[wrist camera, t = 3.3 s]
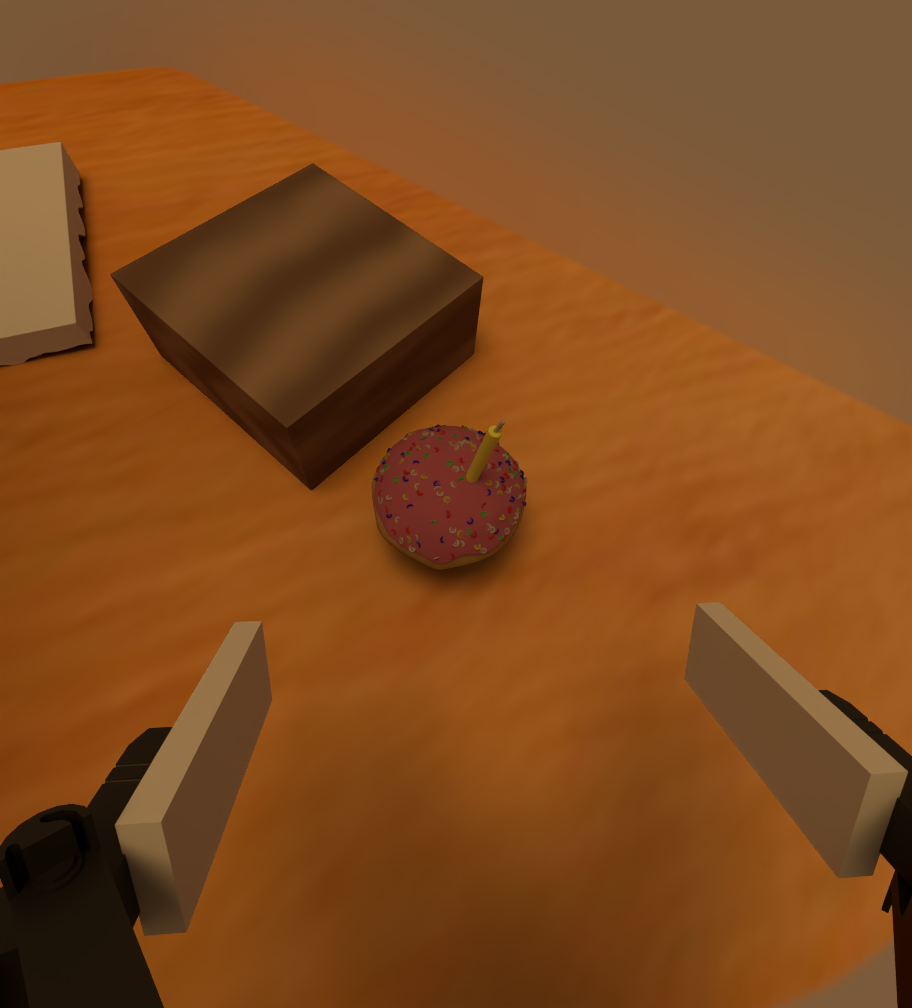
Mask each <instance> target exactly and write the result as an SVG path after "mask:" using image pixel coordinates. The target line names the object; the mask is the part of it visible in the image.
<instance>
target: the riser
mask: <svg viewBox="0 0 912 1008" xmlns="http://www.w3.org/2000/svg"><path fill="white" fill-rule="evenodd" d="M110 275H111V277H112V278H113V280H114V281H115V283H116V285H117V286H118V288H119V289H120V291H121V292H122V294H123V296H124V297H125V299H126V300H127V302H128V304H129V305H130V307H131V308H132V310H133V312H134V313H135V315H136V316H137V318H138V320H139V321H140V323H141V324H142V326H143V327H144V329H145V331H146V332H147V334H148V335H149V337H150V339H151V340H152V342H153V343H154V345H155V347H156V348H157V350H158V351H159V353H160V355H161V356H162V357H164V358H165V359H166V360H167V361H168V362H169V363H170V364H171V365H172V366H174V367H175V368H176V369H177V370H178V371H179V372H180V373H181V374H182V375H184V376H185V377H186V378H187V379H188V380H189V381H190V382H191V383H192V384H194V385H195V386H196V387H197V388H198V389H199V390H200V391H201V392H202V393H204V394H205V395H206V396H207V397H208V398H209V399H210V400H211V401H212V402H214V403H215V404H216V405H217V406H218V407H219V408H220V409H221V410H222V411H224V412H225V413H226V414H227V415H228V416H229V417H230V418H231V419H232V420H234V421H235V422H236V423H237V424H238V425H239V426H240V427H241V428H242V429H244V430H245V431H246V432H247V433H248V434H249V435H250V436H251V437H252V438H254V439H255V440H256V441H257V442H258V443H259V444H260V445H261V446H262V447H264V448H265V449H266V450H267V451H268V452H269V453H270V454H271V455H272V456H274V457H275V458H276V459H277V460H278V461H279V462H280V463H281V464H282V465H284V466H285V467H286V468H287V469H288V470H289V471H290V472H291V473H292V474H294V475H295V476H296V477H297V478H298V479H299V480H300V481H301V482H302V483H304V484H305V485H306V486H307V487H308V488H309V489H310V490H312V489H314V488H315V487H316V486H317V485H318V484H319V483H321V482H322V481H323V480H324V479H325V478H327V477H328V476H329V475H330V474H331V473H333V472H334V471H335V470H336V469H337V468H338V467H340V466H341V465H342V464H343V463H344V462H346V461H347V460H348V459H349V458H350V457H352V456H353V455H354V454H355V453H356V452H358V451H359V450H360V449H361V448H362V447H363V446H365V445H366V444H367V443H368V442H369V441H371V440H372V439H373V438H374V437H375V436H377V435H378V434H379V433H380V432H381V431H382V430H384V429H385V428H386V427H387V426H388V425H390V424H391V423H392V422H393V421H394V420H396V419H397V418H398V417H399V416H400V415H401V414H403V413H404V412H405V411H406V410H407V409H409V408H410V407H411V406H412V405H413V404H415V403H416V402H417V401H418V400H419V399H421V398H422V397H423V396H424V395H425V394H426V393H428V392H429V391H430V390H431V389H432V388H434V387H435V386H436V385H437V384H438V383H440V382H441V381H442V380H443V379H444V378H445V377H447V376H448V375H449V374H450V373H451V372H453V371H454V370H455V369H456V368H457V367H459V366H460V365H461V364H462V363H463V362H465V361H466V360H467V359H468V358H469V357H470V356H472V355H473V354H474V347H475V340H476V332H477V324H478V316H479V308H480V300H481V292H482V284H483V276H481V275H480V274H478V273H477V272H475V271H474V270H472V269H471V268H469V267H468V266H466V265H465V264H463V263H462V262H460V261H459V260H457V259H456V258H454V257H453V256H451V255H450V254H448V253H447V252H445V251H444V250H442V249H441V248H439V247H438V246H436V245H435V244H433V243H432V242H430V241H429V240H427V239H426V238H424V237H423V236H421V235H420V234H418V233H417V232H415V231H414V230H412V229H411V228H409V227H408V226H406V225H405V224H403V223H402V222H400V221H399V220H397V219H396V218H394V217H393V216H391V215H390V214H388V213H387V212H385V211H384V210H382V209H381V208H379V207H378V206H376V205H375V204H373V203H372V202H370V201H369V200H367V199H366V198H364V197H363V196H361V195H360V194H358V193H357V192H355V191H354V190H352V189H351V188H349V187H348V186H346V185H345V184H343V183H342V182H340V181H339V180H337V179H336V178H334V177H333V176H331V175H330V174H328V173H327V172H325V171H324V170H322V169H321V168H319V167H318V166H316V165H315V164H313V163H312V164H311V165H309V166H307V167H305V168H303V169H302V170H300V171H298V172H296V173H294V174H292V175H291V176H289V177H287V178H285V179H283V180H281V181H280V182H278V183H276V184H274V185H272V186H270V187H269V188H267V189H265V190H263V191H261V192H259V193H258V194H256V195H254V196H252V197H250V198H249V199H247V200H245V201H243V202H241V203H239V204H238V205H236V206H234V207H232V208H230V209H228V210H227V211H225V212H223V213H221V214H219V215H217V216H216V217H214V218H212V219H210V220H208V221H207V222H205V223H203V224H201V225H199V226H197V227H196V228H194V229H192V230H190V231H188V232H186V233H185V234H183V235H181V236H179V237H177V238H175V239H174V240H172V241H170V242H168V243H166V244H164V245H163V246H161V247H159V248H157V249H155V250H154V251H152V252H150V253H148V254H146V255H144V256H143V257H141V258H139V259H137V260H135V261H133V262H132V263H130V264H128V265H126V266H124V267H122V268H121V269H119V270H117V271H115V272H113V273H112V274H110Z"/></svg>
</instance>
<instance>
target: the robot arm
mask: <svg viewBox="0 0 912 1008" xmlns="http://www.w3.org/2000/svg"><path fill="white" fill-rule="evenodd" d="M684 679H685V680H686V682H687V683H688V684H689V685H690V687H691V688H692V689H693V691H694V692H695V693H696V695H697V696H698V697H699V698H700V700H701V701H702V702H703V704H704V705H705V706H706V708H707V709H708V710H709V711H710V713H711V714H712V715H713V717H714V718H715V719H716V720H717V722H718V723H719V724H720V726H721V727H722V728H723V730H724V731H725V732H726V733H727V735H728V736H729V737H730V739H731V740H732V741H733V743H734V744H735V745H736V746H737V748H738V749H739V750H740V752H741V753H742V754H743V755H744V757H745V758H746V759H747V761H748V762H749V763H750V765H751V766H752V767H753V768H754V770H755V771H756V772H757V774H758V775H759V776H760V778H761V779H762V780H763V781H764V783H765V784H766V785H767V787H768V788H769V789H770V790H771V792H772V793H773V794H774V796H775V797H776V798H777V800H778V801H779V802H780V803H781V805H782V806H783V807H784V809H785V810H786V811H787V813H788V814H789V815H790V816H791V818H792V819H793V820H794V822H795V823H796V824H797V825H798V827H799V828H800V829H801V831H802V832H803V833H804V835H805V836H806V837H807V838H808V840H809V841H810V842H811V844H812V845H813V846H814V848H815V849H816V850H817V851H818V853H819V854H820V855H821V857H822V858H823V859H824V860H825V862H826V863H827V864H828V866H829V867H830V868H831V870H832V871H833V872H834V873H835V875H836V876H837V877H838V878H846V877H858V876H870V875H873V873H874V870H875V867H876V864H877V861H878V858H879V855H880V853H881V854H882V855H883V856H884V858H885V859H886V860H887V861H888V862H889V863H890V864H891V865H892V867H893V868H894V869H895V872H894V875H893V878H892V880H891V883H890V886H889V889H888V891H887V894H886V897H885V900H884V903H883V906H882V909H881V910H883V911H885V912H887V913H888V912H889V909H890V907H891V905H892V912H893V931H894V949H895V967H896V986H897V1004H898V1008H912V756H911V755H910V754H909V753H907V752H906V751H905V750H904V749H903V748H902V747H900V746H899V745H898V744H897V743H896V742H895V741H894V740H892V739H891V738H890V737H889V736H888V735H887V734H883V732H882V730H881V729H880V728H878V727H877V726H876V725H875V724H874V723H873V722H871V721H870V722H869V721H868V718H867V717H866V716H865V715H863V714H862V713H861V712H860V711H859V710H858V709H856V708H855V707H854V706H853V705H852V704H851V703H849V702H847V701H846V700H844V699H842V698H840V697H838V696H837V695H835V694H833V693H831V692H830V691H828V690H817V689H816V688H815V687H814V686H812V685H811V684H810V683H809V682H808V681H807V680H806V679H805V678H804V677H802V676H801V675H800V674H799V673H798V672H797V671H796V670H795V669H794V668H792V667H791V666H790V665H789V664H788V663H787V662H786V661H785V660H784V659H782V658H781V657H780V656H779V655H778V654H777V653H776V652H775V651H774V650H772V649H771V648H770V647H769V646H768V645H767V644H766V643H765V642H764V641H762V640H761V639H760V638H759V637H758V636H757V635H756V634H755V633H754V632H752V631H751V630H750V629H749V628H748V627H747V626H746V625H745V624H743V623H742V622H741V621H740V620H739V619H738V618H737V617H736V616H735V615H733V614H732V613H731V612H730V611H729V610H728V609H727V608H726V607H725V606H723V605H722V604H721V603H696V609H695V615H694V621H693V627H692V634H691V640H690V646H689V652H688V658H687V664H686V670H685V677H684ZM271 702H272V694H271V687H270V679H269V671H268V664H267V656H266V648H265V641H264V633H263V626H262V621H249V622H235V623H234V624H233V626H232V628H231V629H230V631H229V633H228V634H227V636H226V638H225V640H224V641H223V643H222V645H221V646H220V648H219V650H218V651H217V653H216V655H215V656H214V658H213V660H212V662H211V663H210V665H209V667H208V668H207V670H206V672H205V673H204V675H203V677H202V678H201V680H200V682H199V683H198V685H197V687H196V689H195V690H194V692H193V694H192V695H191V697H190V699H189V700H188V702H187V704H186V705H185V707H184V709H183V711H182V712H181V714H180V716H179V717H178V719H177V721H176V722H175V724H174V726H173V727H162V728H149V729H147V730H146V731H145V732H144V733H143V734H141V735H140V736H139V737H138V738H137V739H135V740H134V741H133V742H132V743H131V744H129V745H128V747H127V748H126V750H125V751H124V753H123V754H122V756H121V757H120V759H119V760H118V762H117V763H116V767H115V768H113V769H112V771H111V772H110V774H109V775H108V777H107V778H106V780H105V784H102V786H101V787H100V789H99V790H98V792H97V793H96V795H95V796H94V798H93V799H92V801H91V802H90V804H89V805H88V807H87V808H86V807H85V806H81V805H76V804H68V805H61V806H56V807H53V808H50V809H48V810H45V811H43V812H40V813H38V814H36V815H34V816H33V817H31V818H30V819H28V820H26V821H25V822H23V823H21V824H20V825H19V826H18V827H17V828H16V829H15V830H14V831H12V832H11V833H10V834H9V835H8V836H7V837H6V838H5V840H4V841H3V843H2V844H1V846H0V879H1V882H2V884H3V887H1V888H0V1008H164V1007H163V1004H162V1001H161V999H160V996H159V994H158V991H157V989H156V986H155V984H154V981H153V979H152V976H151V973H150V971H149V968H148V966H147V963H146V961H145V958H144V956H143V953H142V951H141V948H140V945H139V943H138V940H137V938H136V935H135V933H134V930H133V926H134V924H135V922H136V920H137V918H138V916H139V917H140V921H141V925H142V928H143V932H144V936H145V935H157V934H169V933H181V932H187V929H188V927H189V924H190V921H191V918H192V916H193V913H194V910H195V908H196V905H197V902H198V899H199V897H200V894H201V891H202V889H203V886H204V883H205V880H206V878H207V875H208V872H209V870H210V867H211V864H212V862H213V859H214V856H215V853H216V851H217V848H218V845H219V843H220V840H221V837H222V834H223V832H224V829H225V826H226V824H227V821H228V818H229V815H230V813H231V810H232V807H233V805H234V802H235V799H236V797H237V794H238V791H239V788H240V786H241V783H242V780H243V778H244V775H245V772H246V769H247V767H248V764H249V761H250V759H251V756H252V753H253V750H254V748H255V745H256V742H257V740H258V737H259V734H260V732H261V729H262V726H263V723H264V721H265V718H266V715H267V713H268V710H269V707H270V704H271Z"/></svg>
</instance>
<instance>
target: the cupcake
mask: <svg viewBox="0 0 912 1008" xmlns="http://www.w3.org/2000/svg"><path fill="white" fill-rule="evenodd" d="M505 423H506V421H505V420H502V421H500V422H499V424H498V426H496V425H492V426H490V427H489V429H488V431H487V433H484V434H483V432H481V431H478V432H476V431H475V430H474V429H473V428H472V429H468V428H466V426H464V425H462V427H456V426H446V425H443V426H440V425H437V426H435V427H429V428H426V429H421V430H417V431H414V432H411V433H409V434H408V433H407V435H406V436H405V437H404V438H403V439H402V440H400V441H399V442H398V443H397V444H395V445H394V446H393V447H392V448H391V449H390V448H389V449H388V450H387V454H386V455H385V456H384V458H383V460H381V461H380V466H378V468H377V470H376V473H375V475H374V479H373V483H372V498H373V505H374V511H375V516H376V523H377V527H378V529H379V531H380V533H381V534H382V536H383V537H384V538H385V540H386V541H387V542H388V543H389V544H391V545H392V546H393V547H394V548H396V549H397V550H399V551H400V552H402V553H403V554H405V555H407V556H409V557H410V558H412V559H414V560H416V561H418V562H420V563H422V564H424V565H426V566H429V567H431V568H433V569H437V570H445V569H449V568H454V567H459V566H464V565H468V564H472V563H475V562H478V561H481V560H483V559H486V558H488V557H490V556H492V555H493V554H495V553H497V552H498V551H499V550H501V549H502V548H503V547H504V546H505V545H506V544H507V543H508V542H509V540H510V539H511V537H512V536H513V534H514V533H515V531H516V529H517V527H518V525H519V523H520V520H521V517H522V514H523V510H524V506H526V502H525V498H526V483H527V478H526V477H525V478H524V477H523V475H524V472H523V471H522V470H520V468H519V463H518V461H515V460H514V459H513V458H512V457H511V456H510V455H509V453H508V452H506V451H505V450H504V449H503V448H502V447H500V446H499V444H500V443H499V442H498V441H499V439H500V437H501V435H502V430H501V428H502V426H503V425H504V424H505ZM480 432H481V433H480ZM485 434H486V435H485ZM517 464H518V465H517ZM525 481H526V482H525Z"/></svg>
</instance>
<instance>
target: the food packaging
mask: <svg viewBox="0 0 912 1008" xmlns="http://www.w3.org/2000/svg"><path fill="white" fill-rule="evenodd" d="M78 185H80V175H79V171H78V170H77V168H76V166H75V165H74V163H73V161H72V160H71V158H70V156H69V155H68V153H67V151H66V150H65V148H64V146H63V145H62V143H61V142H56V143H49V144H42V145H35V146H28V147H21V148H14V149H7V150H0V365H16V364H21V363H25V361H26V360H27V359H29V358H31V357H39V356H41V355H42V354H43V353H47V352H57V351H61V350H65V349H69V348H72V347H75V346H78V345H82V344H93V343H92V339H91V336H90V332H91V331H93V323H92V317H91V314H90V311H89V303H90V302H91V301H92V300H93V297H92V287H91V284H90V281H89V279H88V277H87V274H86V272H85V270H84V267H83V265H82V261H83V260H84V259H85V255H84V252H83V249H82V247H81V244H80V241H79V238H81V237H83V236H85V228H84V224H83V222H82V219H81V217H80V214H79V211H80V210H81V209H82V208H83V204H82V200H81V197H80V194H79V191H78Z"/></svg>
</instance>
